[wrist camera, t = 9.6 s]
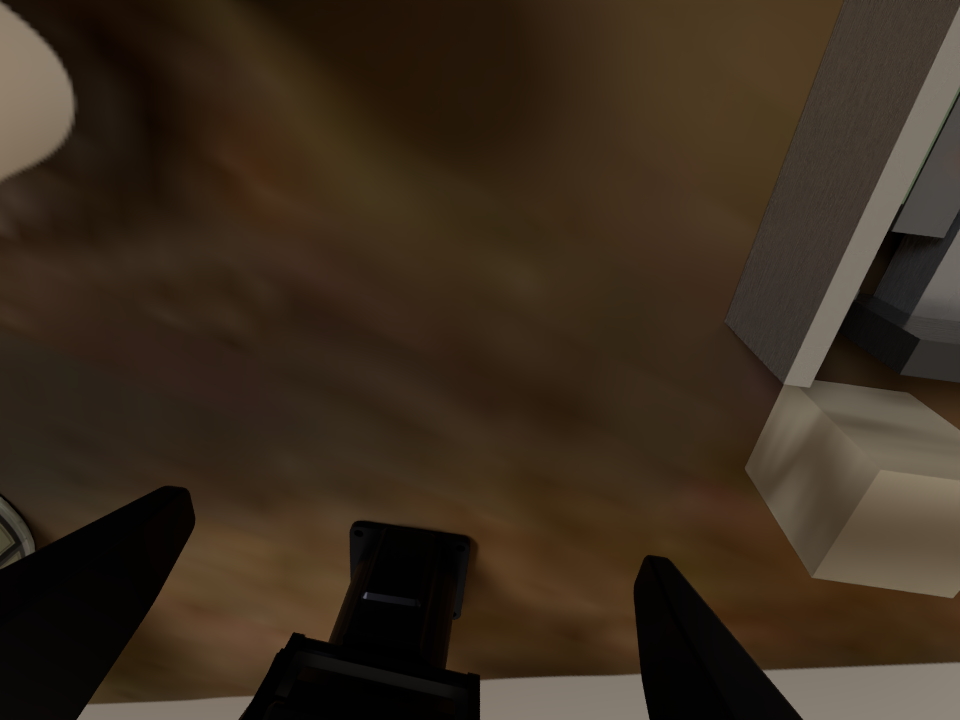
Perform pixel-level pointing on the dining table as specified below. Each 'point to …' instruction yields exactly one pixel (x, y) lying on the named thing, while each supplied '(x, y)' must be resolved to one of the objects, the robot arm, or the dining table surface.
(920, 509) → the block
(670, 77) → the dining table surface
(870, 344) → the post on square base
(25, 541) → the coffee can
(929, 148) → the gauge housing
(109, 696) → the dining table surface
